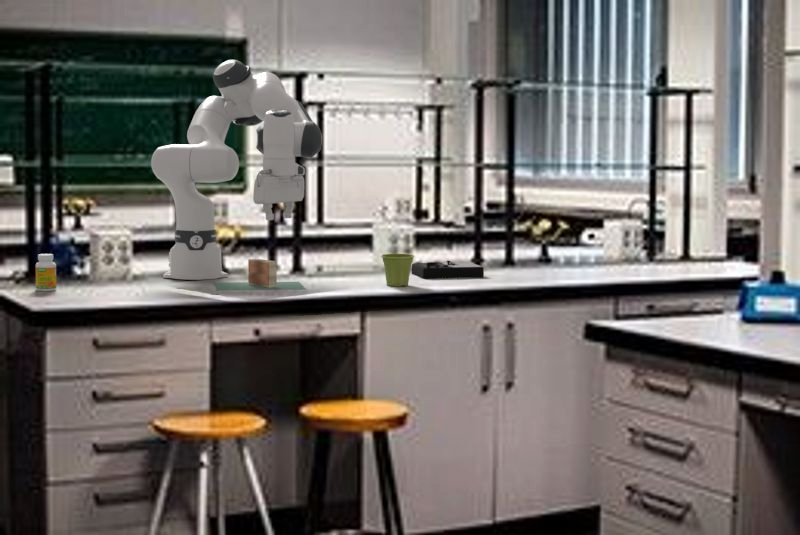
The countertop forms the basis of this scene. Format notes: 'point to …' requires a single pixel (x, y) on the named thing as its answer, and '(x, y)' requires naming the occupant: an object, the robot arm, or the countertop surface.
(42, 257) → the supplement bottle
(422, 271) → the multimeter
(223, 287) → the green mat
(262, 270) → the brown wood block
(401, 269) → the plant pot
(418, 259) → the countertop surface
